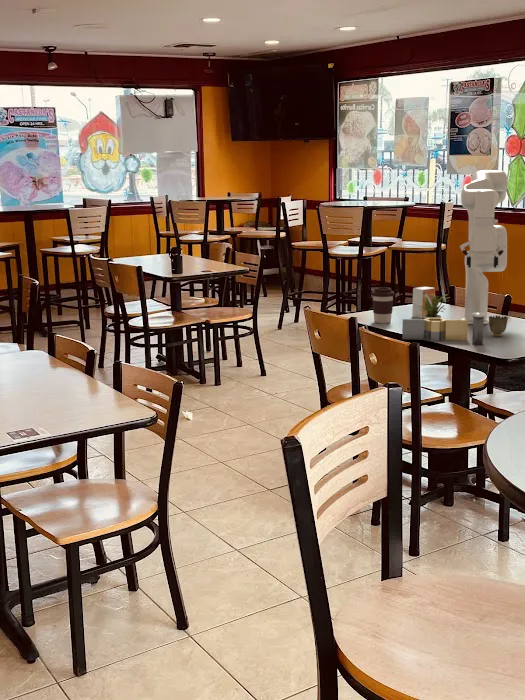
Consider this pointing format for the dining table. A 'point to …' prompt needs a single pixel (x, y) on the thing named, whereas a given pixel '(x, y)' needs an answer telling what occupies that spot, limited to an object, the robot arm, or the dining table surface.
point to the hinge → (434, 329)
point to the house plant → (433, 307)
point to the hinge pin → (478, 328)
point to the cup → (497, 325)
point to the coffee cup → (382, 304)
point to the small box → (418, 302)
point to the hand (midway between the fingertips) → (482, 267)
